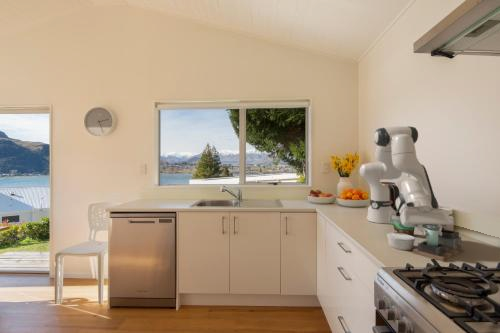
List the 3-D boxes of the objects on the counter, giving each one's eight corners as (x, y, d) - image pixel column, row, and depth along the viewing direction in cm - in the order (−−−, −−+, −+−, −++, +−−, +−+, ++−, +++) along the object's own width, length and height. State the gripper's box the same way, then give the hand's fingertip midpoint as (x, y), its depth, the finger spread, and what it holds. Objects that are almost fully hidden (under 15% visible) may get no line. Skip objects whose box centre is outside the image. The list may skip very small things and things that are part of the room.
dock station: (435, 243, 123) (435, 227, 123) (463, 250, 114) (464, 232, 114) (412, 253, 110) (413, 234, 110) (442, 261, 101) (443, 241, 101)
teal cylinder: (428, 244, 111) (429, 224, 111) (439, 247, 108) (440, 226, 107) (424, 246, 109) (425, 225, 109) (435, 249, 105) (436, 227, 105)
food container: (393, 235, 137) (393, 216, 137) (391, 232, 143) (391, 214, 143) (420, 237, 133) (420, 218, 133) (416, 234, 139) (416, 216, 139)
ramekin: (414, 245, 120) (414, 234, 120) (415, 253, 111) (415, 241, 111) (387, 241, 126) (387, 231, 126) (386, 248, 117) (386, 237, 116)
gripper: (441, 212, 118) (455, 240, 109) (395, 211, 120) (405, 238, 111) (448, 204, 114) (463, 232, 104) (400, 203, 116) (410, 230, 106)
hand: (433, 235), depth 108 cm, fingers closed on teal cylinder, 4 cm apart
